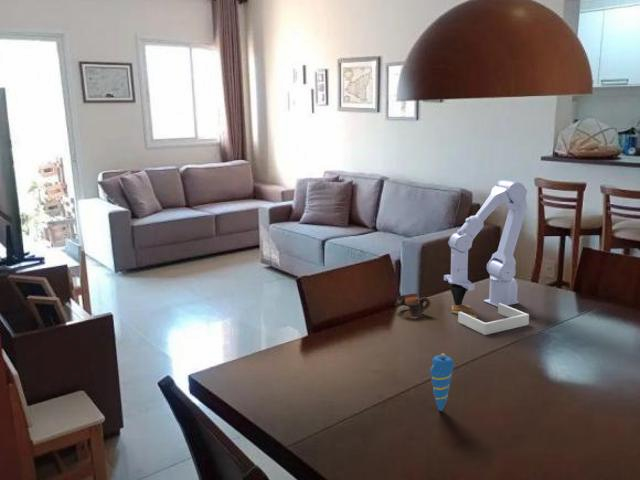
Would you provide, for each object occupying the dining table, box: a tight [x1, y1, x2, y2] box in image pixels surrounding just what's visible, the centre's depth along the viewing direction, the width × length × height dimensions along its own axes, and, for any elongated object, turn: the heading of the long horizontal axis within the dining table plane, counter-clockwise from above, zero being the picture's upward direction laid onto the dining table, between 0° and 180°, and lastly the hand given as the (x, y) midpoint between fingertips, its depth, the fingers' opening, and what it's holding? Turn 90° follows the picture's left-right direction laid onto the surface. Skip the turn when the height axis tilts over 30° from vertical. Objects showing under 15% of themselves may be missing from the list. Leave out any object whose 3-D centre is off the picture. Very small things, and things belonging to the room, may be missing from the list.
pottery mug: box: [395, 293, 432, 319], centre depth 197 cm, size 12×10×8 cm
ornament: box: [430, 350, 455, 412], centre depth 131 cm, size 5×5×15 cm
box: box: [457, 303, 530, 336], centre depth 186 cm, size 18×13×4 cm
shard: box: [450, 304, 478, 319], centre depth 196 cm, size 11×8×2 cm
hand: (458, 304), depth 202 cm, fingers closed
